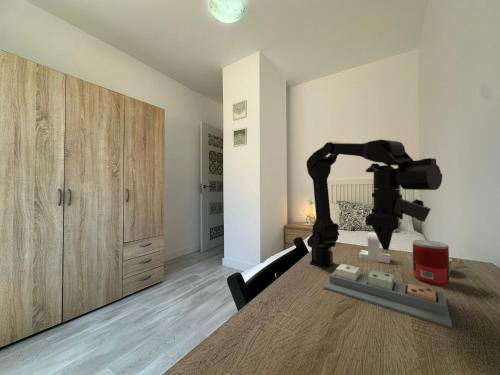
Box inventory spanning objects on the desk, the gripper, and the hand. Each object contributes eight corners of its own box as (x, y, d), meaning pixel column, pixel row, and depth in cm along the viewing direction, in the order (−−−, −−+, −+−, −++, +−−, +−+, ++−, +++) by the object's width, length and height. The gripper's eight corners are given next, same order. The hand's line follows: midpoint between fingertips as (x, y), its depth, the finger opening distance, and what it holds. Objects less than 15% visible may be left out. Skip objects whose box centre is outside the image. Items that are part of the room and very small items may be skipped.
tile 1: (336, 276, 58) (336, 267, 58) (341, 271, 62) (341, 263, 62) (355, 281, 54) (355, 272, 54) (359, 275, 58) (359, 266, 58)
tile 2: (368, 285, 52) (368, 275, 53) (371, 278, 56) (371, 269, 56) (391, 291, 49) (391, 280, 49) (393, 283, 53) (393, 274, 53)
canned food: (456, 287, 55) (456, 247, 56) (423, 285, 57) (422, 245, 57) (437, 275, 63) (436, 240, 63) (407, 273, 64) (407, 239, 65)
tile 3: (407, 301, 47) (407, 290, 47) (408, 292, 51) (408, 282, 51) (436, 309, 44) (436, 297, 44) (435, 299, 48) (435, 288, 48)
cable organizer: (361, 254, 84) (361, 230, 84) (390, 259, 78) (390, 233, 78) (359, 258, 80) (358, 232, 80) (389, 263, 74) (389, 236, 74)
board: (323, 288, 56) (323, 279, 56) (339, 272, 66) (339, 264, 66) (451, 327, 39) (451, 315, 39) (445, 298, 50) (445, 288, 50)
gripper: (429, 190, 40) (428, 269, 40) (426, 189, 54) (426, 247, 54) (365, 189, 47) (365, 256, 47) (377, 188, 61) (377, 240, 61)
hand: (385, 249), depth 52 cm, fingers closed
